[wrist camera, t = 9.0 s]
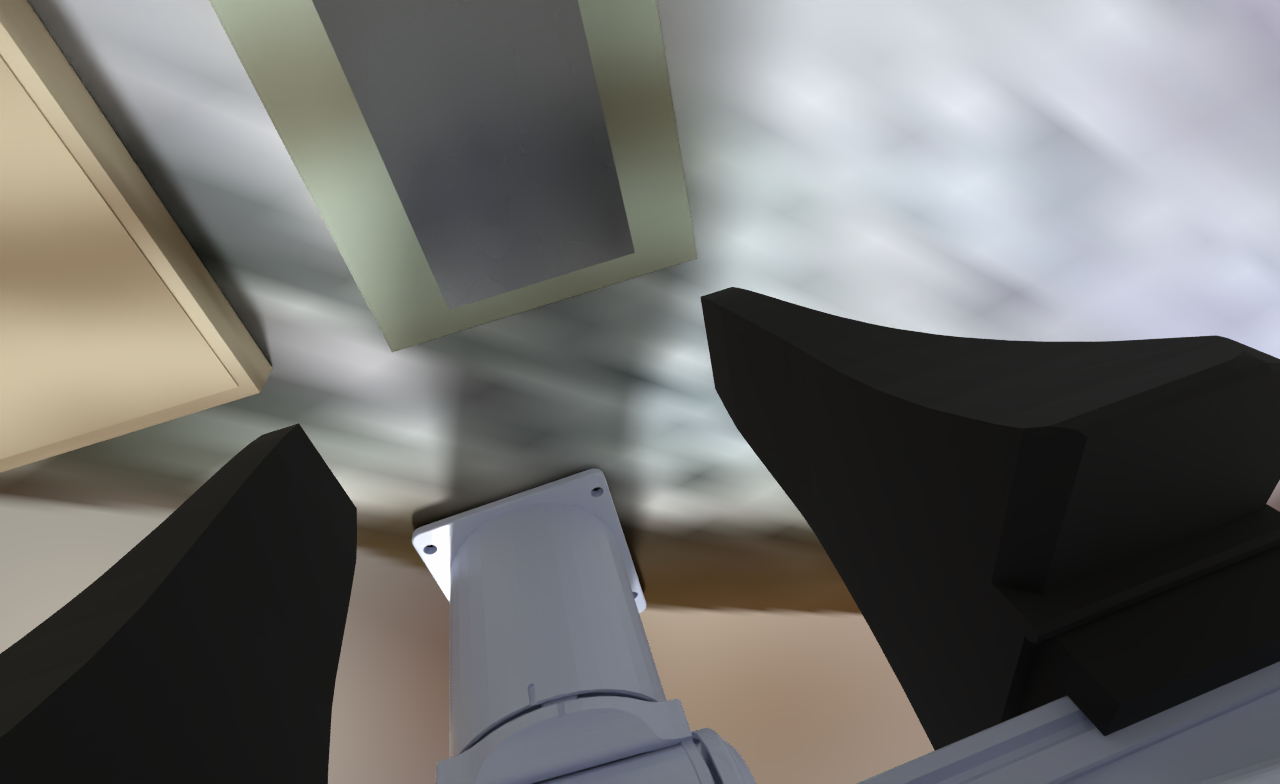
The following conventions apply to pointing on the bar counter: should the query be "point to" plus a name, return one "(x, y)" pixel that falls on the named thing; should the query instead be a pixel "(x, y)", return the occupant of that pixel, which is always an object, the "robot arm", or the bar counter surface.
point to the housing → (486, 135)
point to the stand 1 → (94, 274)
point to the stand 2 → (367, 200)
